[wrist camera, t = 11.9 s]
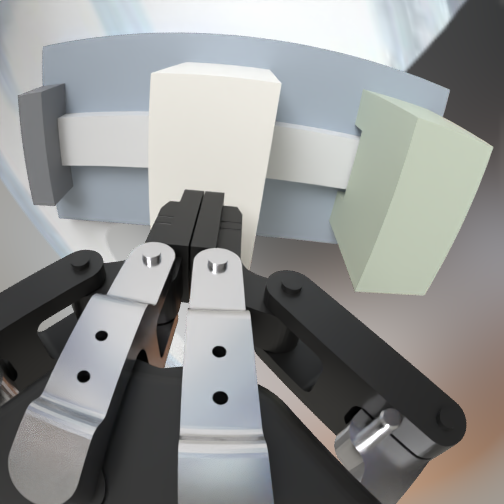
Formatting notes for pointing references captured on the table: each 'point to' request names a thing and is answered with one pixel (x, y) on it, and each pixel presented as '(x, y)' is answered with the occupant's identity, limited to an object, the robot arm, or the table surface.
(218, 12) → the table surface
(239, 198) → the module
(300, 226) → the mounting plate
